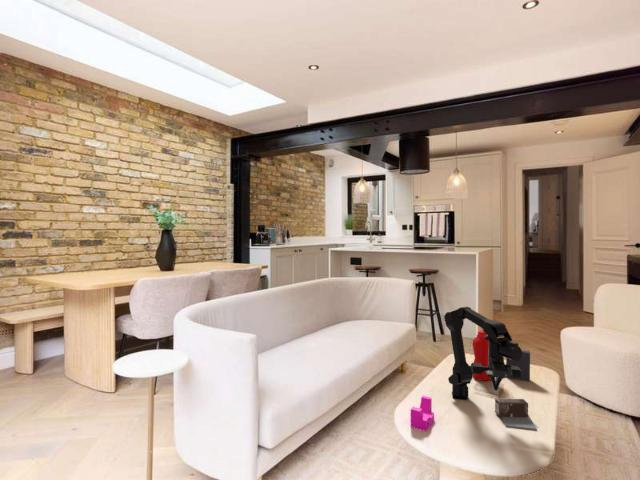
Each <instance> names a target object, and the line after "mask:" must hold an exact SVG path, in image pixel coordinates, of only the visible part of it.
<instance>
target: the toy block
mask: <svg viewBox="0 0 640 480" xmlns="http://www.w3.org/2000/svg"><path fill="white" fill-rule="evenodd" d="M432 399H433V398H432V397H431V396H427V395H422V396H421V398H420V404H419V407H417V406H416V407H415V406H412V407H411V408H410V427H411V426H412V427H411V428H413V427H415V428H414V429H416V428H418V429H417V430H419V429H421V430H420V431H423V430H424V432H427V431H428V430H429V429H430V427H431V425H432V424H433V423H434V421H435V412H433V411H432V405H433V404H432V402H433V401H432ZM432 422H433V423H432ZM427 429H428V430H427Z"/></svg>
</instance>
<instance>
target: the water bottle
mask: <svg viewBox="0 0 640 480" xmlns="http://www.w3.org/2000/svg"><path fill="white" fill-rule="evenodd" d="M487 336H488V335H487V334H486V333H484V331H483V330H479V331H477V334H476V337H474V338H473V340H472V341H471V343H470V345H469V347H471V344H472V351H473V352H472V354H471V355H474V359H473V363H481V365H482V366H486V367H488V346H489V341H487V340H485V339H484V338H485V337H487ZM468 351H469V352H470V351H471V348H469V349H468ZM473 379H475V380H476V381H483V380H486V381H485V382H489V381H491V379H490V377H488V376H487V375H486V373H485V371H483V373H482V374H474V373H473Z"/></svg>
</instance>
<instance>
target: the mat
mask: <svg viewBox="0 0 640 480" xmlns="http://www.w3.org/2000/svg"><path fill="white" fill-rule="evenodd" d="M501 418H502V421H503V423H504V426H505V427H506V428H515V429H522V430H531V431H537V430H538V428H537V427H536V425H535V424H534V421H533V420H532V419H531V417H530V414H528V417H501Z"/></svg>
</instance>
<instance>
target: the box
mask: <svg viewBox="0 0 640 480" xmlns="http://www.w3.org/2000/svg"><path fill="white" fill-rule="evenodd" d="M494 413H495V415H497V416H498V417H501V418H502V417H528V415H529V403H528V402H527V401H526V400H525V399H524V398H495V399H494Z"/></svg>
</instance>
